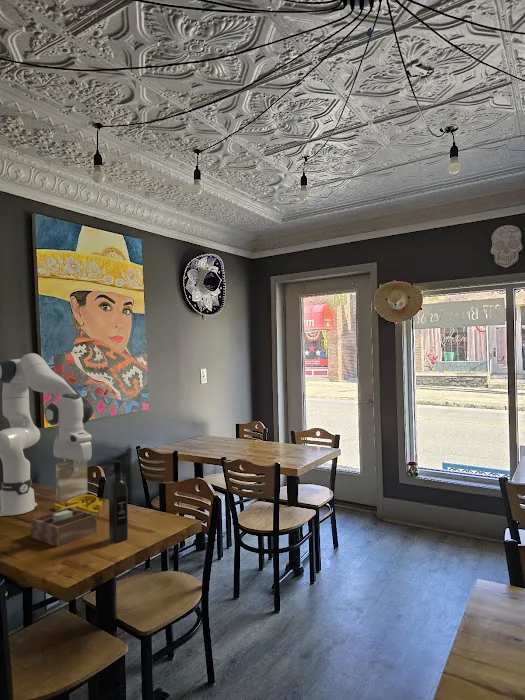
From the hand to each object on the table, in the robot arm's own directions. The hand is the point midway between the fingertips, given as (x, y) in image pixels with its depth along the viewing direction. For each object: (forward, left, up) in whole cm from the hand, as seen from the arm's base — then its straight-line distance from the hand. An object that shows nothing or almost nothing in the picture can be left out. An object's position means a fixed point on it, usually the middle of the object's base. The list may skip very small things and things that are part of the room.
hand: (71, 470), depth 179 cm
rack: (-6, 0, -26) cm, 27 cm away
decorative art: (-25, +23, -27) cm, 43 cm away
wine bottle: (+18, +8, -26) cm, 33 cm away
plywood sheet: (0, 0, -10) cm, 10 cm away
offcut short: (-6, 0, -20) cm, 21 cm away
